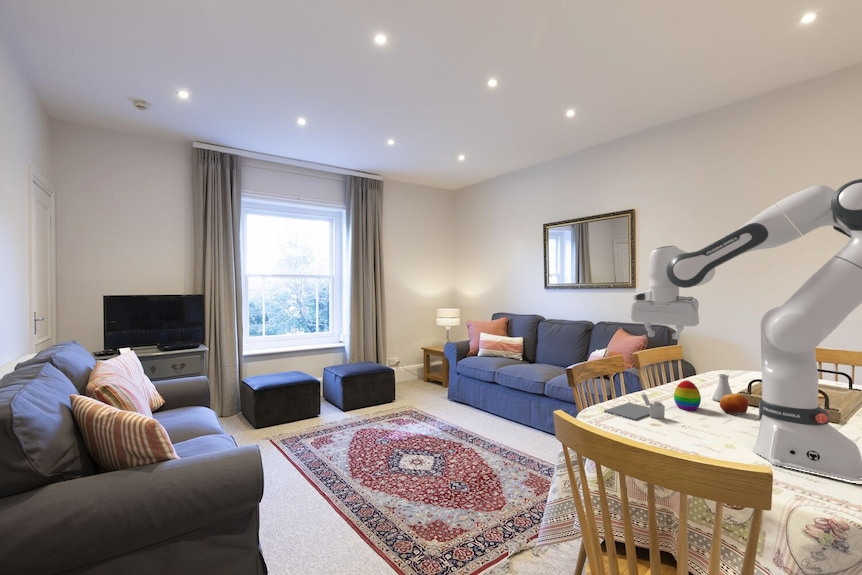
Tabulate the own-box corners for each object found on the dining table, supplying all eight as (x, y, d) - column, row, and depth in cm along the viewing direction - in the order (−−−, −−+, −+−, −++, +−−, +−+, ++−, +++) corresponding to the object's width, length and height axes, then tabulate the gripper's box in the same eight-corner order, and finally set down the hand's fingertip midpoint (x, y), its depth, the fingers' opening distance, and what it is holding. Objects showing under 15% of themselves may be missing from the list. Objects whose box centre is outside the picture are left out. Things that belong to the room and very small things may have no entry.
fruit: (742, 415, 135) (730, 391, 139) (722, 421, 142) (711, 398, 146) (760, 413, 138) (748, 389, 141) (740, 418, 144) (729, 396, 148)
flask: (707, 399, 159) (708, 373, 158) (719, 397, 162) (719, 372, 162) (728, 404, 152) (728, 377, 152) (739, 402, 155) (739, 375, 155)
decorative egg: (701, 413, 142) (701, 384, 142) (673, 409, 147) (673, 381, 146) (700, 407, 149) (700, 379, 149) (674, 403, 154) (674, 377, 153)
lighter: (663, 417, 138) (664, 393, 138) (664, 419, 137) (665, 395, 136) (639, 414, 140) (640, 391, 140) (640, 416, 139) (641, 393, 139)
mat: (659, 411, 144) (659, 409, 144) (635, 420, 135) (635, 418, 135) (628, 404, 153) (628, 402, 153) (604, 412, 144) (604, 410, 144)
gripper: (702, 296, 128) (702, 340, 129) (638, 294, 145) (638, 333, 145) (693, 297, 125) (693, 342, 125) (628, 295, 141) (628, 335, 142)
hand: (663, 337), depth 135 cm, fingers open, 6 cm apart
